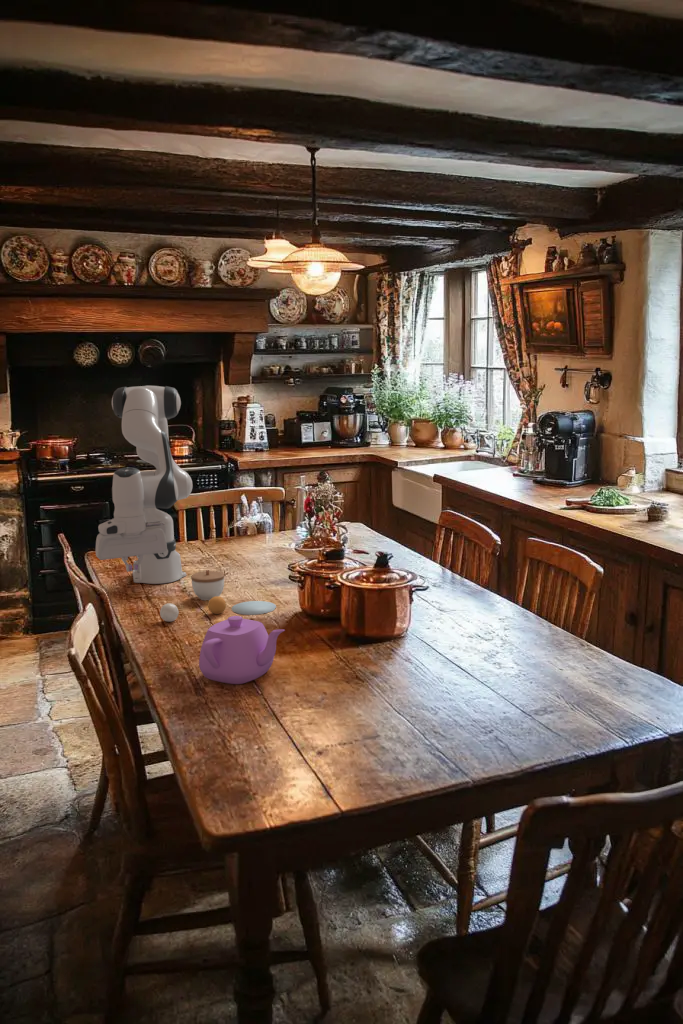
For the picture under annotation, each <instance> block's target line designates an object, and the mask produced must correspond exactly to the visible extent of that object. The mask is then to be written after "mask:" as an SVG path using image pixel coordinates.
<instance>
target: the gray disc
mask: <svg viewBox="0 0 683 1024" xmlns="http://www.w3.org/2000/svg"><path fill="white" fill-rule="evenodd" d="M275 608H276V609H277V605H276V603H273V602H270V601H265V600H249V601H248V600H247V601H242V602H239V603H236V604H234V605H233V606H232V607H231V611H232V612H233V613H235V614H239V615H246V616H254V615H255V616H259V615H264V613H265V614H268V612H269V613H271V612H273V611H275V610H276V609H275Z"/></svg>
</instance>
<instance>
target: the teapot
mask: <svg viewBox="0 0 683 1024" xmlns="http://www.w3.org/2000/svg"><path fill="white" fill-rule="evenodd" d="M285 631H286V630H285V629H281V628H280V629H274V630H272V631H271V632H270V633H269V634H268V632H267V629H266V627H265V625H264V623H262V621H257V620H252V619H248V618H243V616H240V615H232V616H229V617H227V619H225V620H222V621H220V622H217V623H215V624H213V625H212V626H210V627H209V628H208V629H207V630H206V633H205V636H204V639H203V642H202V645H201V647H200V651H199V661H198V667H199V671H200V672H201V674H202V675H203V676H204V678H206V679H209V680H211V681H215V682H220V683H223V684H224V683H225V684H230V685H243V684H246V683H249V682H252V681H254V680H256V679H258V678H259V679H260V677H262V676H264V675H265V674H266V673H267V672H268V671H269V670H270V668H271V667H272V665H273V662H274V658H275V656H276V651H277V639H278V637H279V635H280V634H281V633H283V632H285Z"/></svg>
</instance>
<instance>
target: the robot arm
mask: <svg viewBox="0 0 683 1024" xmlns="http://www.w3.org/2000/svg"><path fill="white" fill-rule="evenodd" d="M181 405H182V401H181V397H180V394H179V392H178V390H177V389H176V388H175V387H171V386H167V385H165V386H159V385H142V386H141V385H140V386H139V385H138V386H129V387H127V386H122V387H118V388H116V390H115V391H113V395H112V398H111V408H112V410H113V414H114V415H115V416H116V417H117V418H119V419H121V433H122V435H123V437H124V438H125V440H126V441H127V442H128V443H129V444H131V445H133V446H134V447H136V448H135V449H136V454H137V456H138V458H139V459H140V460H141V461H144V462H146V463H148V464H150V465H152V466H154V468H155V469H154V470H145V471H144V470H143V471H142V470H140V469H139V468H136V467H131V466H128V467H122V468H118V469H116V470H115V471H114V472H113V476H112V487H111V500H112V503H113V504H114V511H113V518H112V519H109V520H107V521H105V522H103V523H100V524H98V527H97V528H98V532H99V533H98V534H97V536H96V540H95V556H96V558H98V559H99V560H100V561H104V560H114V559H121V561H122V562H123V563H124V565H125V569H126V572H127V573H128V572H132V578H133V579H132V581H133V583H137V584H138V583H139V584H140V583H141V584H142V583H143V584H153V585H155V584H157V585H158V584H168V583H173V582H175V581H178V580H180V579H181V578H184V577H186V576H187V572H185V571H183V568H182V559H181V554H180V553H179V552H178V551H177V550H176V549H177V547H176V546H177V543H176V539H175V536H174V535H175V532H174V531H175V530H174V519H173V517H172V516H171V514H168V513H167V512H165V511H163V510H160V509H164V510H165V509H167V510H168V509H171V507H172V506H174V505H175V504H176V503H177V502H178V501H179V500H183V499H184V500H185V499H188V498H189V496H190V495H191V493H192V491H193V480H192V477H191V476H190V475H189V473H188V472H187V471H186V470H184V469H182V468H181V467H180V466H179V465H178V464H177V463H176V462H175V460H174V459H173V456H172V452H171V447H170V440H169V437H170V436H169V427H168V426H169V425H168V420H171V419H173V418H175V417H176V416H177V415H178V414H179V411H180V409H181ZM129 557H136V558H137V560H134V561H133V565H132V564H129V563H128V561H129Z"/></svg>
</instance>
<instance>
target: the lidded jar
mask: <svg viewBox="0 0 683 1024" xmlns="http://www.w3.org/2000/svg"><path fill="white" fill-rule="evenodd" d="M191 585H192V591H193V593H194V594H195V596H197V597H198V598H199V600H200V599H201V600H200V601H206V600H208V601H210V599H211V598H213V597H215V596H219V597H220V596H221V594H223V591H224V587H225V573H223V572H221V571H218V570H217V571H216V570H210V569H206V570H205V571H200V572H199V571H198V572H194V573H193V574H192V575H191Z"/></svg>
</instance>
